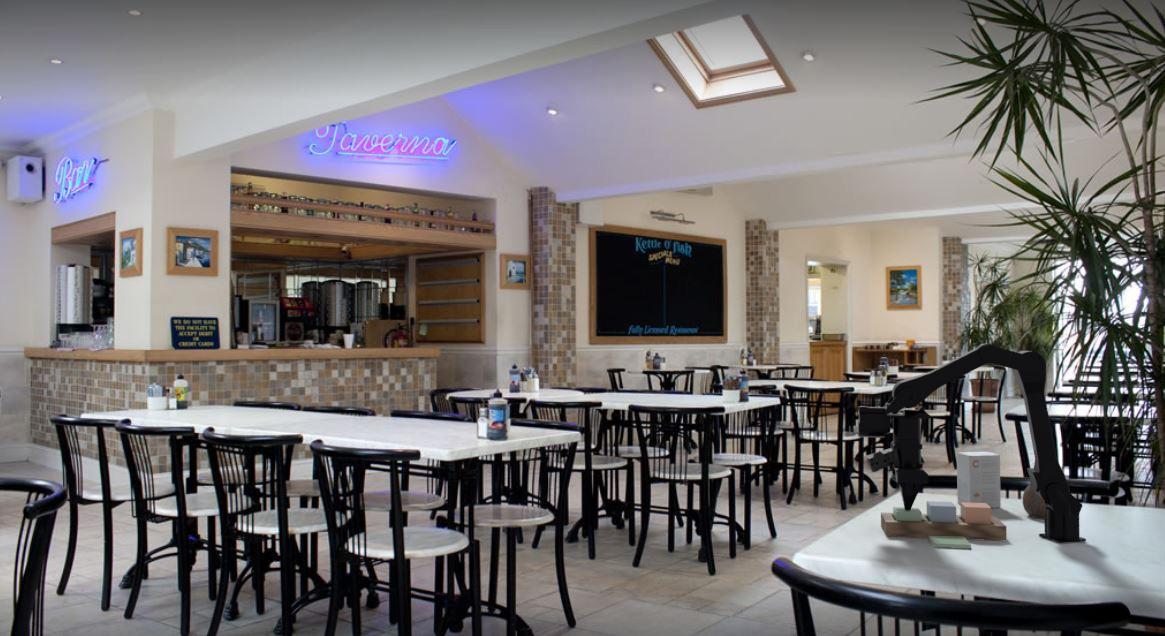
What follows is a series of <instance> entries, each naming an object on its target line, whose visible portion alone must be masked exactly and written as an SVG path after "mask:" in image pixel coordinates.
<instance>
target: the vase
mask: <svg viewBox="0 0 1165 636" xmlns="http://www.w3.org/2000/svg"><path fill="white" fill-rule="evenodd" d="M1022 506H1023V509H1024V511H1025V512H1026V513H1027V515H1029V517H1033V518H1041V519H1045V507H1048V506H1046V505H1045V502H1044V500H1043V499H1042V498H1041V497H1039V496H1038V495H1037V494H1036V492H1035V490H1034V489H1032V488H1031V487H1030V483H1029V484H1028V485H1027V486H1026V488H1025V489H1024V492H1023V495H1022Z"/></svg>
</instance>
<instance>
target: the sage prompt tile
mask: <svg viewBox="0 0 1165 636" xmlns="http://www.w3.org/2000/svg"><path fill="white" fill-rule="evenodd" d="M928 540H929V542H930V543H931V545H932V546H933V548H938V547H953V548H952V549H962V548H971V549H972V544H971V543H970V542H969V541H968V539H966V538H965V537H954V536H929V538H928Z"/></svg>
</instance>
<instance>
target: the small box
mask: <svg viewBox="0 0 1165 636" xmlns="http://www.w3.org/2000/svg"><path fill="white" fill-rule="evenodd" d="M956 481H957V483H956V485H957V487H956V489H957V493H956V494H957V505H959V506H961V502H967V503H986V504H988V505H989V506H990V507H991V509H992V508H1001V507H1002V506H1001V505H1002V504H1001V455H1000V454H998V453H994V452H990V451H967V452H966V451H965V452H964V451H962V452H960V451H959V452H956Z"/></svg>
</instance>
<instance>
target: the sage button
mask: <svg viewBox="0 0 1165 636" xmlns="http://www.w3.org/2000/svg"><path fill="white" fill-rule="evenodd" d="M892 509H893V510H892V511H893V512H892V513H893V518H894V520H899V521H922V514H923V512H922V511H921V510H920V509H919V507H911V510H905V508H904V506H902V507H901V506H893V507H892Z"/></svg>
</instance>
